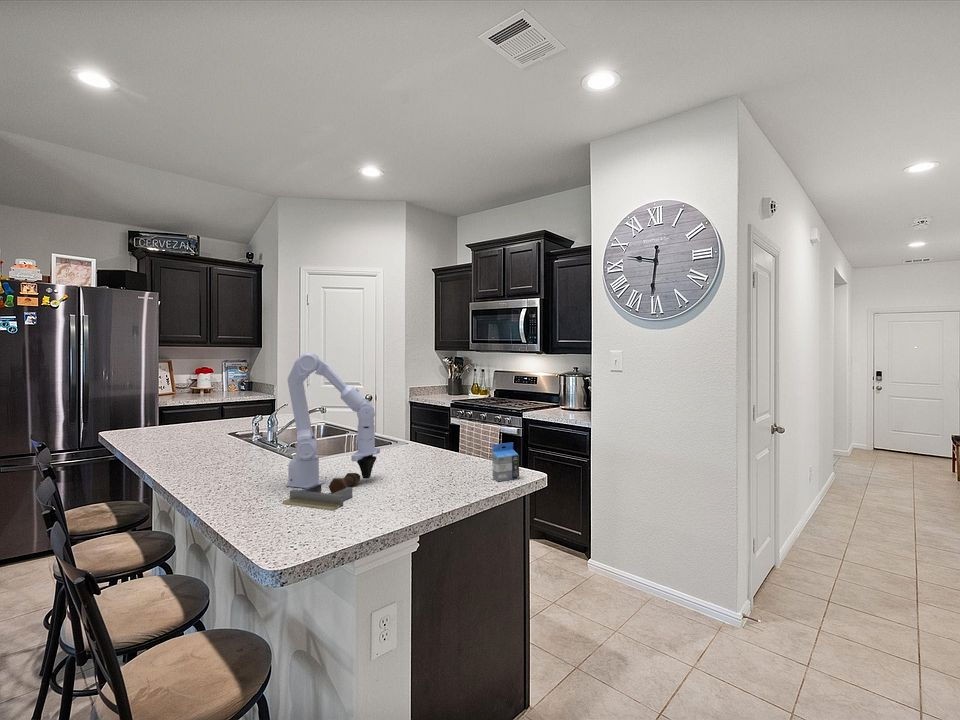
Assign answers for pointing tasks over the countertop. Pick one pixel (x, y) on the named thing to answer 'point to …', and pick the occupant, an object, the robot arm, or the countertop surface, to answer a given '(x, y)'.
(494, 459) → the label tape box
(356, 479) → the bolt
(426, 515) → the countertop surface
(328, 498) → the grey shallow rectangular tray
